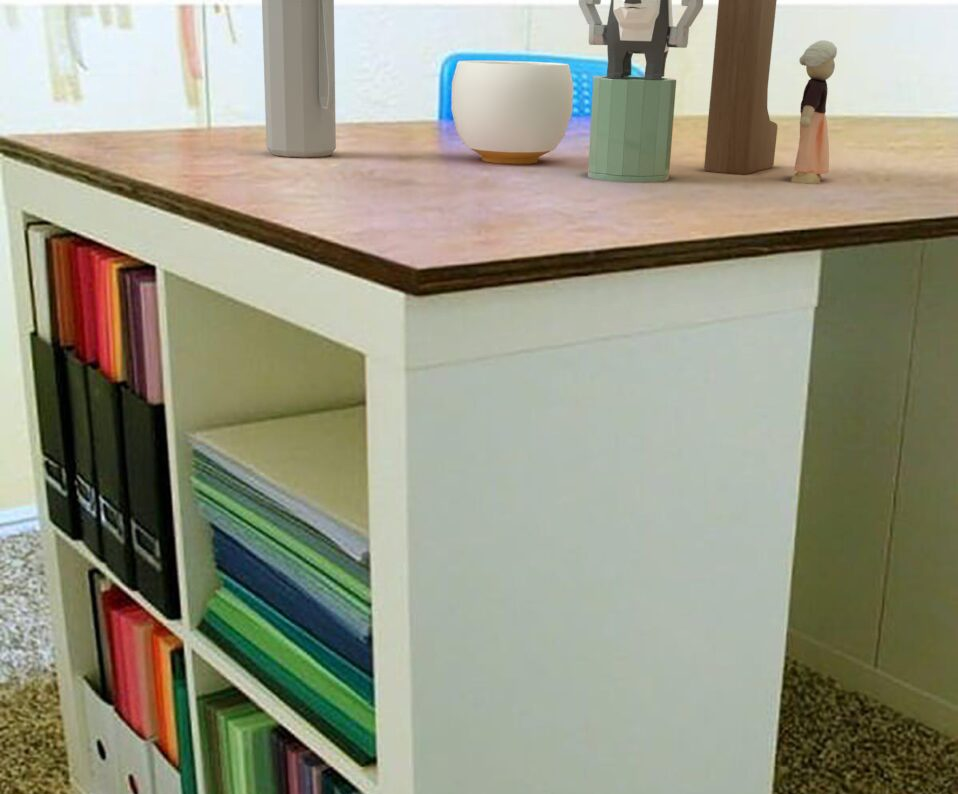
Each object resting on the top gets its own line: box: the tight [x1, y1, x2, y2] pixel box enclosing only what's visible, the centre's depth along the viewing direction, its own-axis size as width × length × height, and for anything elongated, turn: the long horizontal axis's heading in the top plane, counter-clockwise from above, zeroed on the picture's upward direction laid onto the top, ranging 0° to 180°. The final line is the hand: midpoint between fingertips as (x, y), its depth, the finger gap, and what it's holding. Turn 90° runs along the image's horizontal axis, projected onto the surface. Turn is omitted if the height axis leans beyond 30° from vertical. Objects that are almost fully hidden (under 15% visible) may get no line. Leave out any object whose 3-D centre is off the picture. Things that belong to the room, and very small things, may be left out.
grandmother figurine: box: [790, 39, 838, 185], centre depth 122 cm, size 8×4×13 cm, turn 171°
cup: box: [450, 59, 574, 165], centre depth 132 cm, size 12×12×10 cm
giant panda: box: [606, 0, 674, 80], centre depth 117 cm, size 15×6×10 cm, turn 169°
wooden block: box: [703, 0, 779, 176], centre depth 128 cm, size 9×4×18 cm, turn 150°
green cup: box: [587, 75, 677, 183], centre depth 121 cm, size 8×8×9 cm
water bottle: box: [261, 0, 337, 159], centre depth 129 cm, size 9×8×25 cm
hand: (637, 46), depth 118 cm, fingers closed on giant panda, 6 cm apart
